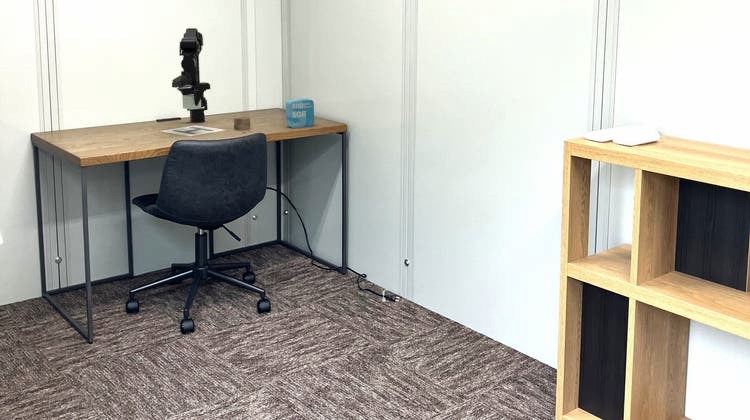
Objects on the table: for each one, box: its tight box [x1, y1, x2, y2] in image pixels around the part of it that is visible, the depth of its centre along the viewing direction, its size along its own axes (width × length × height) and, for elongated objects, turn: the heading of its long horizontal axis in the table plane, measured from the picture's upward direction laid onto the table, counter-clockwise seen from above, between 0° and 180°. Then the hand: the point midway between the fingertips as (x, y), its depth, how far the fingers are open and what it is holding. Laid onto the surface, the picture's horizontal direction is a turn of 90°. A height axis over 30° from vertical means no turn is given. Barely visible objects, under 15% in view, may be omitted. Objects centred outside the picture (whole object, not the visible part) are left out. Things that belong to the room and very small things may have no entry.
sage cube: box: [181, 94, 202, 110], centre depth 393 cm, size 6×6×6 cm
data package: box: [285, 98, 315, 129], centre depth 412 cm, size 12×4×12 cm, turn 123°
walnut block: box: [233, 116, 251, 134], centre depth 399 cm, size 5×5×6 cm
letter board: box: [161, 124, 225, 137], centre depth 396 cm, size 20×20×1 cm
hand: (191, 105), depth 393 cm, fingers closed on sage cube, 5 cm apart
